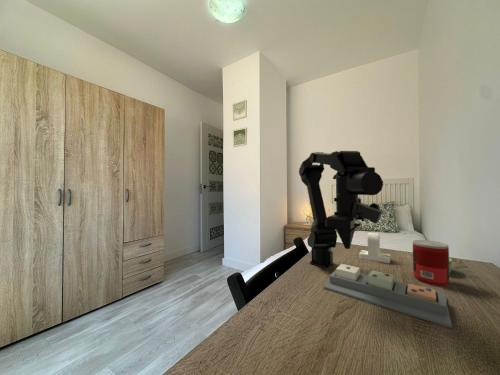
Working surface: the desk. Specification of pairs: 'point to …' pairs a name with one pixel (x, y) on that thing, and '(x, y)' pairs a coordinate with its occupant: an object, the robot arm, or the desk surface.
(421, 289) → the tile
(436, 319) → the board
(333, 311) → the desk surface
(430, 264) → the canned food
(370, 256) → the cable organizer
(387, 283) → the tile
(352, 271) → the tile
